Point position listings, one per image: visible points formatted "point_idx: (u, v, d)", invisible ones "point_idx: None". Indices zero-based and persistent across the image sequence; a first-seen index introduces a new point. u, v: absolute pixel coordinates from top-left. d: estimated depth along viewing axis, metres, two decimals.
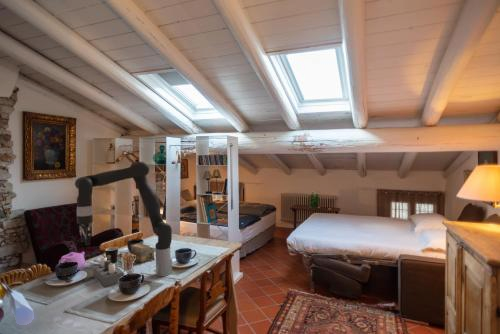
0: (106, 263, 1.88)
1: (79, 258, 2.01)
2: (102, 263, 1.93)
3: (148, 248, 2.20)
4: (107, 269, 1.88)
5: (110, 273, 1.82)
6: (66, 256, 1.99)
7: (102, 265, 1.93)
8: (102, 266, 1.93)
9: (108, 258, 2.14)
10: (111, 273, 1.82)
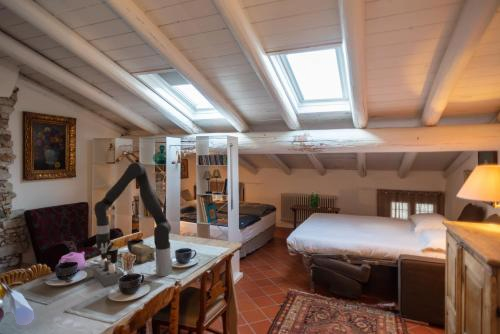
0: (106, 263, 1.88)
1: (79, 258, 2.01)
2: (102, 264, 1.93)
3: (148, 248, 2.20)
4: (107, 269, 1.88)
5: (110, 273, 1.82)
6: (66, 256, 1.99)
7: (102, 266, 1.93)
8: (102, 267, 1.93)
9: (108, 258, 2.14)
10: (111, 273, 1.82)
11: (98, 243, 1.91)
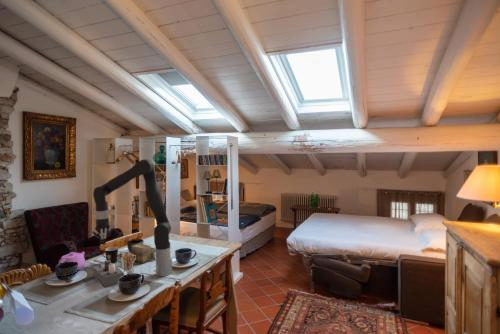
0: (106, 263, 1.88)
1: (79, 258, 2.01)
2: None
3: (149, 248, 2.20)
4: (107, 269, 1.88)
5: (110, 273, 1.82)
6: (66, 256, 1.99)
7: None
8: None
9: (108, 258, 2.14)
10: (111, 273, 1.82)
11: (97, 228, 1.91)
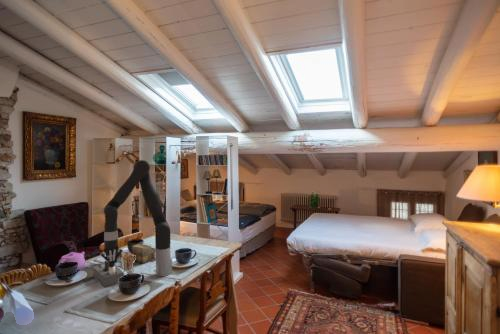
0: (106, 263, 1.88)
1: (79, 258, 2.01)
2: None
3: (149, 248, 2.19)
4: (107, 269, 1.88)
5: None
6: (66, 256, 1.99)
7: None
8: None
9: None
10: None
11: (106, 250, 1.80)
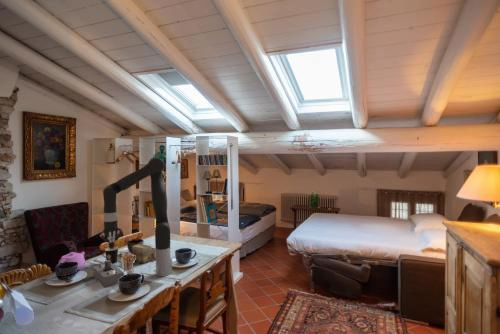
0: (106, 263, 1.88)
1: (79, 258, 2.01)
2: None
3: (150, 248, 2.19)
4: (107, 269, 1.88)
5: None
6: (66, 256, 1.99)
7: None
8: None
9: (108, 258, 2.14)
10: None
11: (106, 231, 1.80)
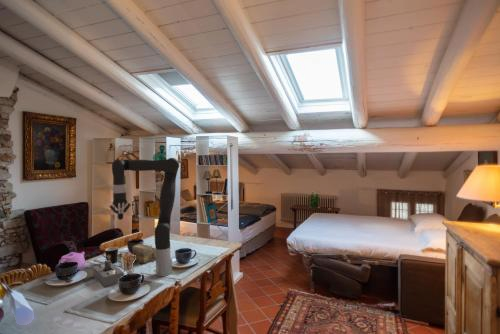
0: (106, 263, 1.88)
1: (78, 258, 2.01)
2: None
3: (150, 248, 2.19)
4: (107, 269, 1.88)
5: None
6: (66, 256, 1.99)
7: None
8: None
9: (108, 258, 2.14)
10: None
11: (115, 203, 1.86)
